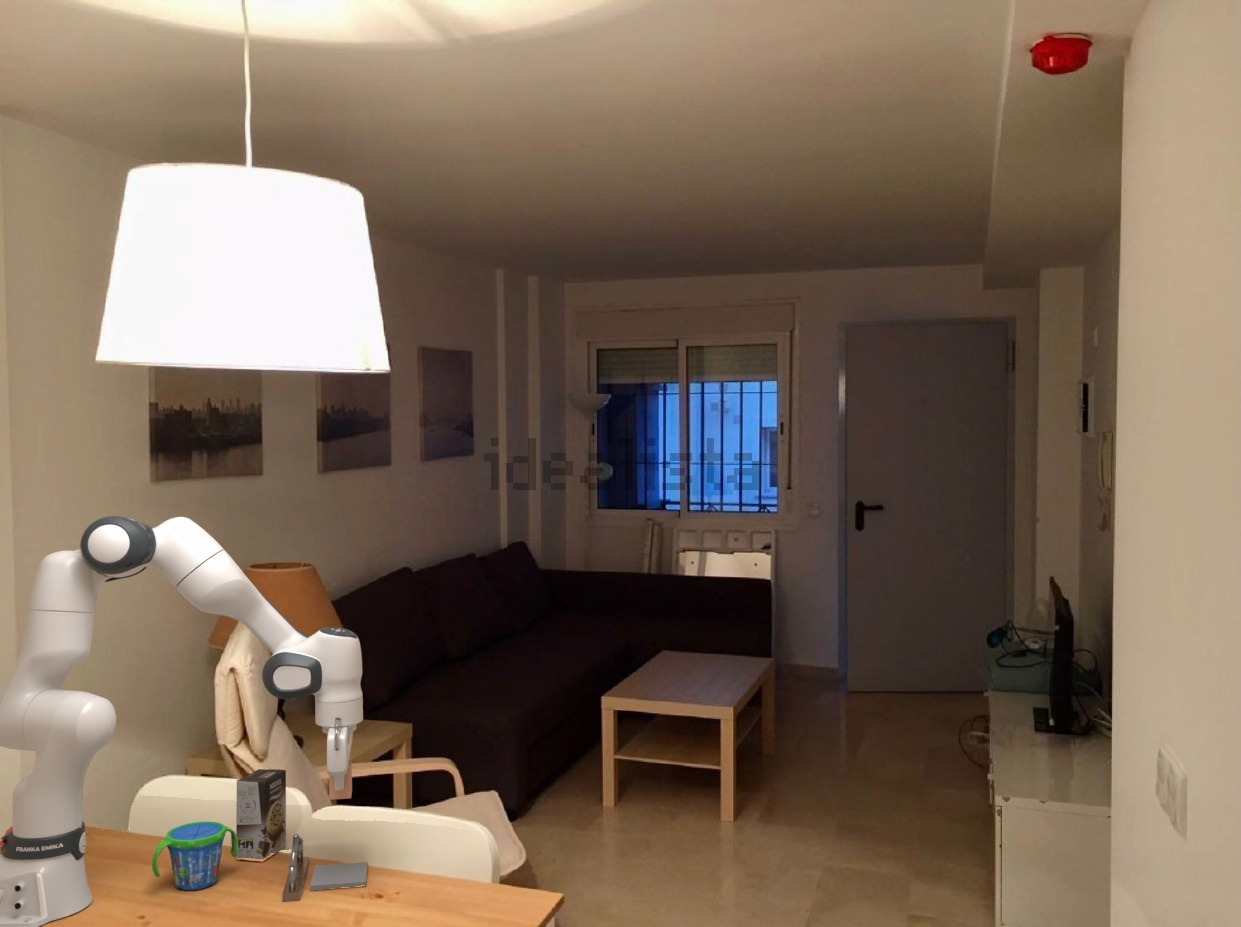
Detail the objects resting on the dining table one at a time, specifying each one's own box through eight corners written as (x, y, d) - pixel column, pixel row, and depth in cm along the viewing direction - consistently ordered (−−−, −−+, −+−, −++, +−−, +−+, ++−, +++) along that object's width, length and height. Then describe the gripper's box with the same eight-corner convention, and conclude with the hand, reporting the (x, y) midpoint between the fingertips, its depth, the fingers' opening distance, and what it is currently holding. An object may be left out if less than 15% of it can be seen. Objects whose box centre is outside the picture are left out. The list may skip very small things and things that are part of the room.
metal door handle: (282, 902, 194) (282, 851, 194) (293, 865, 212) (293, 819, 212) (299, 900, 194) (299, 850, 194) (309, 864, 212) (308, 818, 212)
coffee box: (264, 863, 213) (264, 782, 213) (235, 860, 214) (234, 780, 214) (287, 847, 222) (287, 769, 222) (259, 845, 223) (259, 767, 223)
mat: (310, 891, 199) (310, 885, 199) (315, 871, 208) (315, 866, 208) (365, 887, 201) (365, 881, 201) (367, 867, 210) (367, 862, 210)
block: (329, 799, 203) (329, 768, 203) (330, 793, 207) (330, 762, 207) (351, 798, 204) (350, 767, 204) (352, 791, 208) (351, 760, 208)
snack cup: (159, 903, 194) (159, 847, 194) (145, 885, 202) (145, 831, 202) (246, 883, 203) (246, 829, 203) (230, 866, 211) (230, 815, 211)
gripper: (354, 725, 195) (355, 800, 196) (358, 699, 215) (359, 768, 216) (318, 727, 194) (319, 803, 194) (325, 701, 214) (326, 770, 214)
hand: (340, 784), depth 205 cm, fingers closed on block, 4 cm apart
